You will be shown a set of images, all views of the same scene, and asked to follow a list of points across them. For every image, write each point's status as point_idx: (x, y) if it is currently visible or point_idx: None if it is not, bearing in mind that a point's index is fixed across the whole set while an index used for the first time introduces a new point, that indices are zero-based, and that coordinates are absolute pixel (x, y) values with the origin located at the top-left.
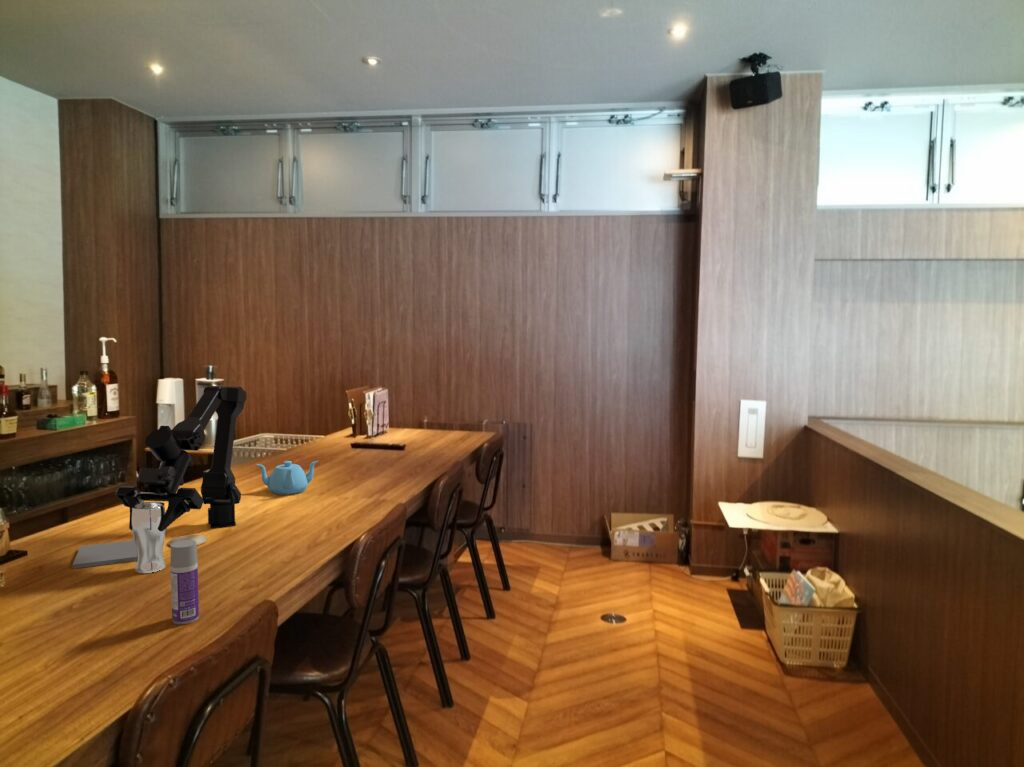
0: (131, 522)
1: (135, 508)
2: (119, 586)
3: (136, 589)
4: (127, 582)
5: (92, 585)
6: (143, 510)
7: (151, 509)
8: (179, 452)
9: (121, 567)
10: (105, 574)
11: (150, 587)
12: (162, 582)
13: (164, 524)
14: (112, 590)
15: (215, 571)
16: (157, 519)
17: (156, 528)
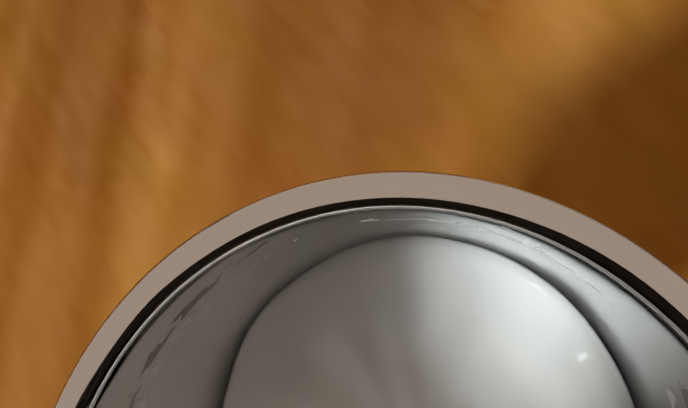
0: None
1: (547, 228)
2: (438, 87)
3: (317, 68)
4: (432, 146)
5: (612, 70)
6: (296, 189)
7: (154, 277)
8: None
9: None
10: (678, 245)
11: (260, 105)
12: (235, 178)
13: None
14: (437, 32)
15: (26, 379)
16: (188, 352)
17: (248, 328)
